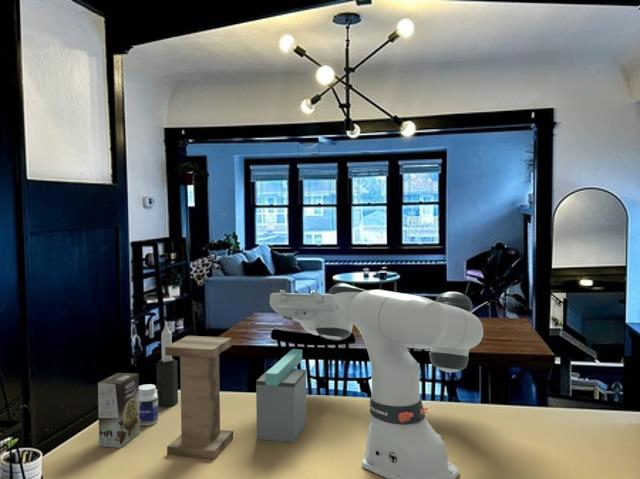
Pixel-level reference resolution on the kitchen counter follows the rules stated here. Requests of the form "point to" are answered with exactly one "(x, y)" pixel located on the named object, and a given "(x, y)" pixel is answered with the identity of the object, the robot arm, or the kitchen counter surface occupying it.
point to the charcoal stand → (281, 407)
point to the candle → (167, 374)
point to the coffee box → (118, 409)
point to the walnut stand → (199, 397)
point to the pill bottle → (148, 405)
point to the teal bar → (283, 367)
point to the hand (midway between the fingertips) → (297, 292)
